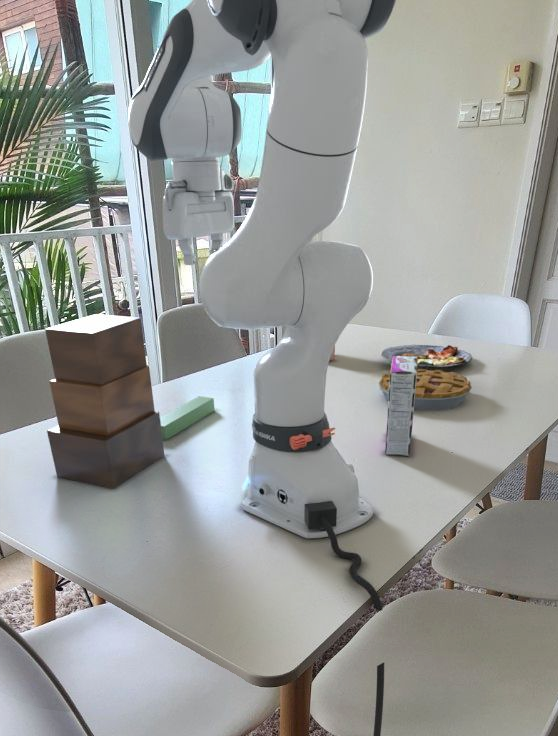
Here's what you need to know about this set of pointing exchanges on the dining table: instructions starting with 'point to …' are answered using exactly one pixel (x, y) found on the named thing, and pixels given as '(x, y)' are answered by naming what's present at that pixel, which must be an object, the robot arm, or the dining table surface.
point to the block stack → (102, 401)
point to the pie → (434, 389)
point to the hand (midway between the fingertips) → (203, 262)
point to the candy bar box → (401, 405)
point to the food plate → (430, 355)
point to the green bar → (185, 416)
